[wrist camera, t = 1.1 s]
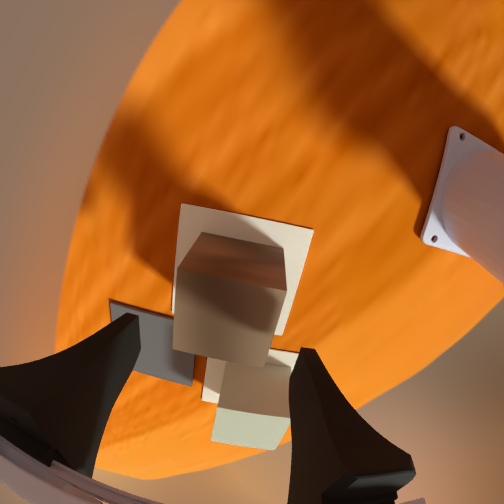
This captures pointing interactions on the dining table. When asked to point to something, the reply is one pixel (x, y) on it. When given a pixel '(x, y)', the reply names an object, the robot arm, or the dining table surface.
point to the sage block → (253, 406)
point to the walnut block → (229, 299)
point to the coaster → (158, 346)
